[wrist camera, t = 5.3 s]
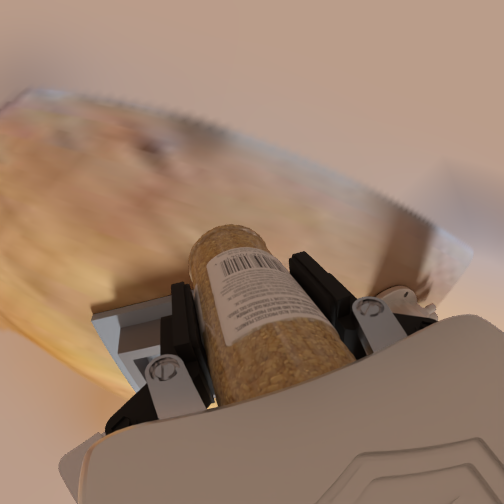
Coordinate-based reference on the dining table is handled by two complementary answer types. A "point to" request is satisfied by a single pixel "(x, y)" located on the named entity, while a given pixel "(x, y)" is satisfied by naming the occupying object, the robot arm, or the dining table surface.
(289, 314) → the sprinkles bottle
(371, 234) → the dining table surface
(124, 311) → the bottle stand
